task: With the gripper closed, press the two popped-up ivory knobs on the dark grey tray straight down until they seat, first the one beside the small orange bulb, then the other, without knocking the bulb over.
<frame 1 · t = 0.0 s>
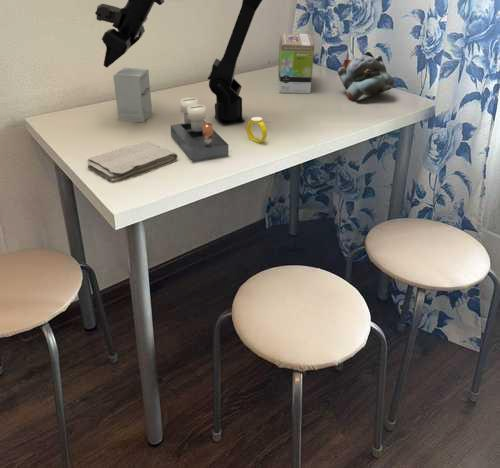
hand: (110, 61, 152), 15 cm above the table, tool tilted 35°, fingers open, 9 cm apart
supplement box: (135, 117, 159), on the table
washcloth: (132, 166, 134), on the table
knob 2: (196, 118, 139), point 7 cm above the table, slide at 3.0 cm
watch: (256, 141, 146), on the table
tea box: (294, 86, 184), on the table
dark grey tray: (198, 145, 143), on the table
orange bulb: (208, 145, 136), point 3 cm above the table, touching dark grey tray
knob 1: (189, 110, 144), point 7 cm above the table, slide at 3.0 cm
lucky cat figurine: (363, 97, 176), on the table
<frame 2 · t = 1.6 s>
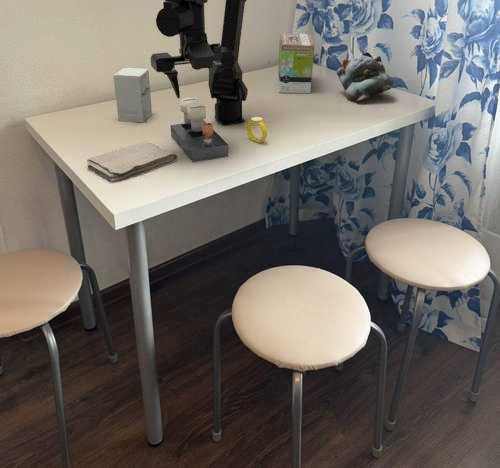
hand: (195, 95, 137), 12 cm above the table, tool pointing down, fingers open, 8 cm apart
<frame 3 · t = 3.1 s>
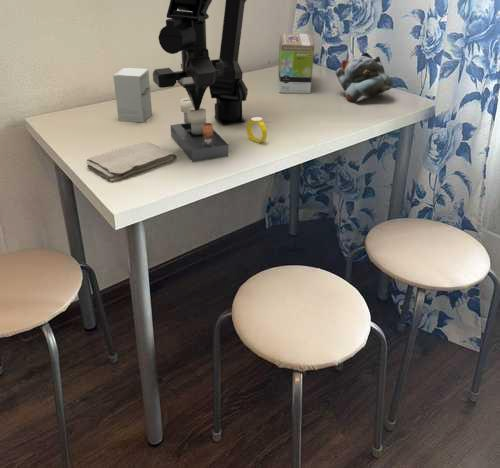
hand: (196, 109, 138), 9 cm above the table, tool pointing down, fingers closed, pressing on knob 2
knob 2: (197, 121, 140), point 6 cm above the table, slide at 2.2 cm, touching gripper
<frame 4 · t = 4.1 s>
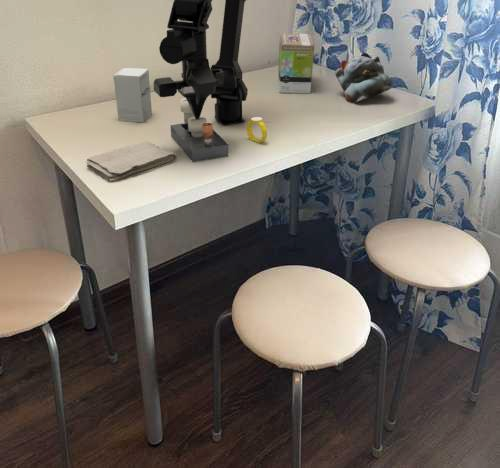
hand: (197, 118, 140), 7 cm above the table, tool pointing down, fingers closed
knob 2: (197, 130, 141), point 4 cm above the table, slide at -0.1 cm
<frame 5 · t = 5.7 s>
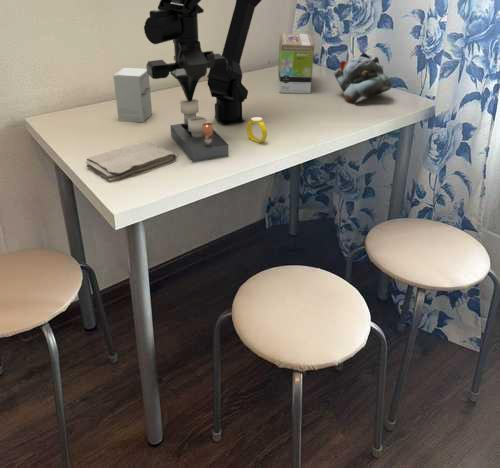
hand: (189, 100, 142), 10 cm above the table, tool pointing down, fingers closed, pressing on knob 1
knob 1: (189, 111, 144), point 7 cm above the table, slide at 2.7 cm, touching gripper
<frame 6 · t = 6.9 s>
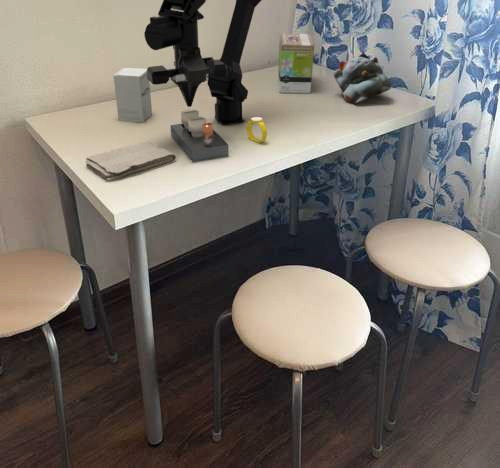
hand: (189, 106, 143), 8 cm above the table, tool pointing down, fingers closed
knob 1: (190, 122, 145), point 4 cm above the table, slide at -0.1 cm
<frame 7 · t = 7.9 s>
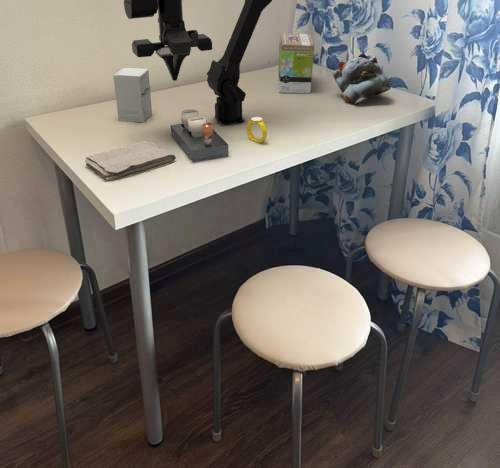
hand: (174, 80, 145), 13 cm above the table, tool pointing down, fingers closed
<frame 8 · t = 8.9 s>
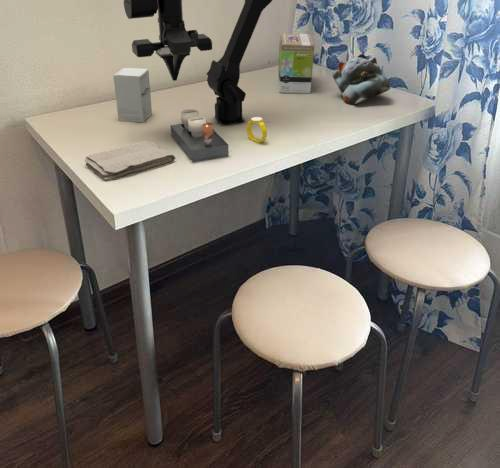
hand: (174, 80, 145), 13 cm above the table, tool pointing down, fingers closed
at the end: knob 2 slide at -0.1 cm; knob 1 slide at -0.1 cm; orange bulb tilted 0° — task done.
